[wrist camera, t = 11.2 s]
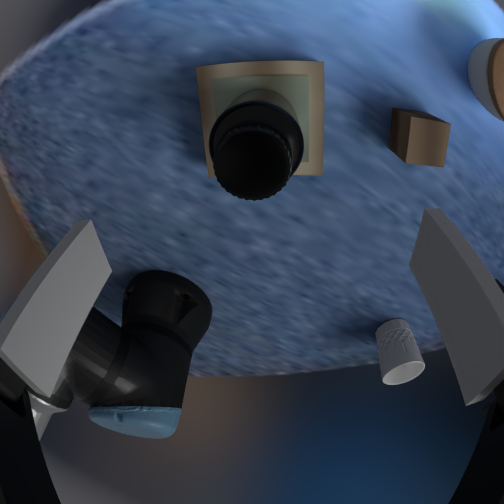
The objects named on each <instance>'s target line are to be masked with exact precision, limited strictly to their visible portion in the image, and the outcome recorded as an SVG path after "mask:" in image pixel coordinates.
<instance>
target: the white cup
mask: <svg viewBox="0 0 504 504" xmlns="http://www.w3.org/2000/svg"><path fill="white" fill-rule="evenodd" d="M375 335H376V341H377V349H378V356H379V362H380V368H381V374H382V380H383V382H384V383H385V384H388V385H396V384H401V383H404V382H407V381H410V380H412V379H413V378H415V377H417V376H418V375H419V374H420V373H421V372H422V371H423V370H424V368H425V364H424V361H423V359H422V356H421V353H420V351H419V348H418V346H417V343H416V341H415V339H414V336H413V334H412V332H411V330H410V328H409V325H408V323H407V322H406V321H405V320H403V319H393V320H389V321H387V322H385V323H383V324H382V325H381V326H380V327H378V329H377V331H376V333H375Z"/></svg>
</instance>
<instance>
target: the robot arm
mask: <svg viewBox="0 0 504 504" xmlns="http://www.w3.org/2000/svg"><path fill="white" fill-rule="evenodd" d="M409 266H410V268H411V270H412V272H413V274H414V276H415V278H416V280H417V282H418V284H419V286H420V288H421V290H422V292H423V294H424V296H425V298H426V301H427V303H428V305H429V307H430V309H431V312H432V314H433V316H434V319H435V321H436V323H437V326H438V328H439V330H440V333H441V335H442V338H443V340H444V343H445V345H446V348H447V350H448V353H449V356H450V359H451V361H452V364H453V367H454V370H455V372H456V376H457V378H458V381H459V385H460V388H461V390H462V394H463V397H464V401H465V404H466V406H467V405H469V404H472V403H475V402H478V401H481V400H483V399H484V398H485V397H486V396H487V395H488V394H490V392H492V390H494V392H495V397H494V398H493V399H492V400H491V401H490V402H489V403H487V404H486V405H485V406H484V407H483V408H482V409H481V410H480V412H479V413H478V414H479V415H481V414H483V413H484V412H485V411H486V410H488V409H489V410H488V413H486V414H485V415H484V417H485V418H486V419H485V422H484V425H483V428H482V431H481V434H480V437H479V439H478V442H477V445H476V447H475V450H474V452H473V455H472V457H471V459H470V462H469V464H468V466H467V468H466V471H465V473H464V475H463V477H462V479H461V481H460V483H459V485H458V487H457V489H456V491H455V493H454V495H453V496H452V498H451V500H450V502H449V503H448V504H504V286H503V285H502V284H501V283H500V282H499V281H498V280H497V279H494V278H493V276H492V275H491V273H490V272H489V270H488V269H487V268H486V266H485V265H484V263H483V262H482V261H481V259H480V258H479V256H478V255H477V254H476V252H475V251H474V250H473V248H472V247H471V246H470V244H469V243H468V242H467V240H466V239H465V238H464V237H463V235H462V234H461V233H460V232H459V230H458V229H457V228H456V227H455V226H454V224H453V223H452V222H451V221H450V220H449V218H448V217H447V216H446V215H445V214H444V213H443V211H442V210H441V209H430V208H425V209H424V213H423V218H422V222H421V225H420V229H419V233H418V237H417V240H416V244H415V247H414V251H413V254H412V257H411V261H410V264H409ZM111 272H112V270H111V267H110V265H109V263H108V260H107V258H106V256H105V253H104V251H103V248H102V246H101V244H100V241H99V239H98V236H97V233H96V231H95V228H94V226H93V223H92V220H82V221H77V222H76V224H75V225H74V226H73V227H72V228H71V229H70V230H69V231H68V233H67V234H66V235H65V236H64V237H63V238H62V240H61V241H60V242H59V243H58V244H57V246H56V247H55V248H54V249H53V250H52V252H51V253H50V254H49V255H48V257H47V258H46V259H45V260H44V262H43V263H42V264H41V266H40V267H39V268H38V269H37V271H36V272H35V273H34V275H33V276H32V278H31V279H30V280H29V282H28V283H27V285H26V286H25V287H24V289H23V290H22V292H21V293H20V294H19V295H18V296H17V297H16V298H15V299H14V301H13V302H12V303H11V304H10V305H9V307H8V308H7V309H6V311H5V312H4V313H3V314H2V316H1V317H0V504H61V503H60V500H59V498H58V495H57V493H56V490H55V488H54V485H53V483H52V480H51V477H50V474H49V471H48V468H47V466H46V462H45V459H44V456H43V453H42V449H41V446H40V442H39V441H40V439H41V436H42V434H43V432H44V430H45V428H46V426H47V423H48V421H49V419H50V417H51V415H52V414H53V413H55V412H62V411H66V410H68V408H69V406H70V404H71V403H72V401H73V399H74V398H77V399H79V400H81V401H82V402H84V403H86V404H88V405H89V406H90V408H89V409H88V412H89V415H88V416H89V418H90V419H91V420H92V421H94V422H95V423H96V424H98V425H100V426H102V427H105V428H108V429H111V430H113V431H117V432H120V433H124V434H128V435H132V436H138V437H145V438H165V437H169V436H170V435H172V434H173V433H174V432H175V430H176V427H177V424H178V420H179V417H180V413H182V409H181V408H182V402H183V397H184V392H185V387H186V382H187V377H188V372H189V367H190V362H191V357H192V353H193V351H194V349H195V348H196V346H197V345H198V343H199V342H200V340H201V339H202V337H203V336H204V334H205V333H206V331H207V330H208V328H209V325H210V321H211V316H212V306H211V303H210V301H209V299H208V297H207V296H206V294H205V293H204V292H203V291H202V290H201V289H200V288H199V287H198V286H197V285H195V284H194V283H193V282H191V281H189V280H188V279H186V278H184V277H181V276H179V275H176V274H173V273H169V272H163V271H149V272H144V273H141V274H139V275H137V276H135V277H134V278H133V279H132V280H131V281H130V283H129V285H128V287H127V289H126V291H125V293H124V297H123V309H122V326H121V327H120V326H118V325H117V324H116V323H114V322H113V321H112V320H110V319H109V318H108V317H106V316H105V315H104V314H102V313H101V312H100V311H99V310H97V309H96V308H95V307H93V304H94V302H95V301H96V299H97V297H98V295H99V293H100V291H101V290H102V288H103V286H104V284H105V283H106V281H107V279H108V277H109V276H110V274H111Z"/></svg>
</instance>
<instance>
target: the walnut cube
mask: <svg viewBox="0 0 504 504" xmlns="http://www.w3.org/2000/svg"><path fill="white" fill-rule="evenodd" d="M449 132H450V124H449V123H447V122H445V121H443V120H441V119H439V118H437V117H435V116H433V115H431V114H428V113H422V112H417V111H411V110H404V109H398V108H393V109H392V122H391V134H390V144H389V149H390V150H391V151H392V152H394V153H395V154H396V155H397V156H398V157H399V158H400V159H402V160H403V161H404V162H405V163H409V164H419V165H428V166H436V167H444V163H445V157H446V151H447V145H448V139H449Z"/></svg>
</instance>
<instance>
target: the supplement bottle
mask: <svg viewBox="0 0 504 504" xmlns="http://www.w3.org/2000/svg"><path fill="white" fill-rule="evenodd" d="M209 153H210V157H211V160H212V162H213V169H214V171H215V172H214V174H215V176H216V177H217V181H218V182H219V183H220V184H221V186H222V187H223V188H225V190H226V191H227V192H229V193H231V194H232V195H233V196H237V197H238V198H244V199H245V200H254V201H255V200H257V199H258V200H262V199H264V198H269V197H270V196H272V195H275V194H276V193H277V192H279V191H281V189H282V187H284V186H285V185H286V182H287V181H288V180H289V179H290V177H291V176H292V175H293V174H294V173H295V171H296V170H297V168H298V167H299V165H300V163H301V160H302V157H303V153H304V139H303V134H302V130H301V127H300V124H299V121H298V118H297V115H296V112H295V110H294V108H293V106H292V105H291V103H290V102H289V101H288V100H287V99H286V98H285V97H284V96H282V95H281V94H279V93H277V92H275V91H272V90H268V89H254V90H250V91H247V92H244V93H242V94H241V95H239V96H238V97H237V98H236V99H234V100H233V101H232V102H231V104H230V105H229V106H228V107H227V108H226V109H225V110H224V111H223V112H222V114H221V115H220V116H219V117H218V118H217V120H216V121H215V123H214V125H213V127H212V129H211V132H210V136H209Z"/></svg>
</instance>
